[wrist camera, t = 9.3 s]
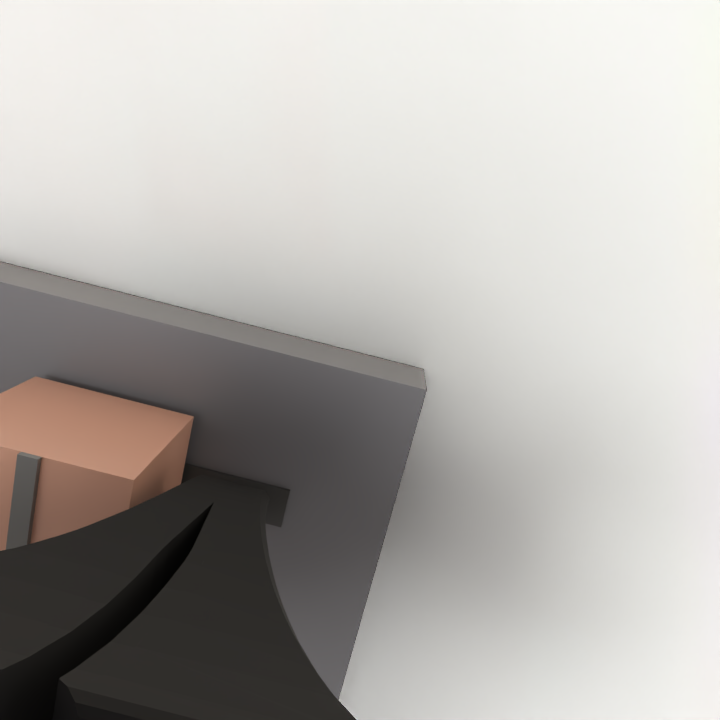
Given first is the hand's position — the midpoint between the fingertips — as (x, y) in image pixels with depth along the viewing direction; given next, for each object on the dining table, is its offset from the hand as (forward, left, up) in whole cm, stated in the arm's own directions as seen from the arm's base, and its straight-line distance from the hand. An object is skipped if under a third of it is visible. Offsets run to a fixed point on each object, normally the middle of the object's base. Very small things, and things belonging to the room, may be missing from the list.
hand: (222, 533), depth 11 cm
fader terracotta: (0, +3, -1) cm, 3 cm away
